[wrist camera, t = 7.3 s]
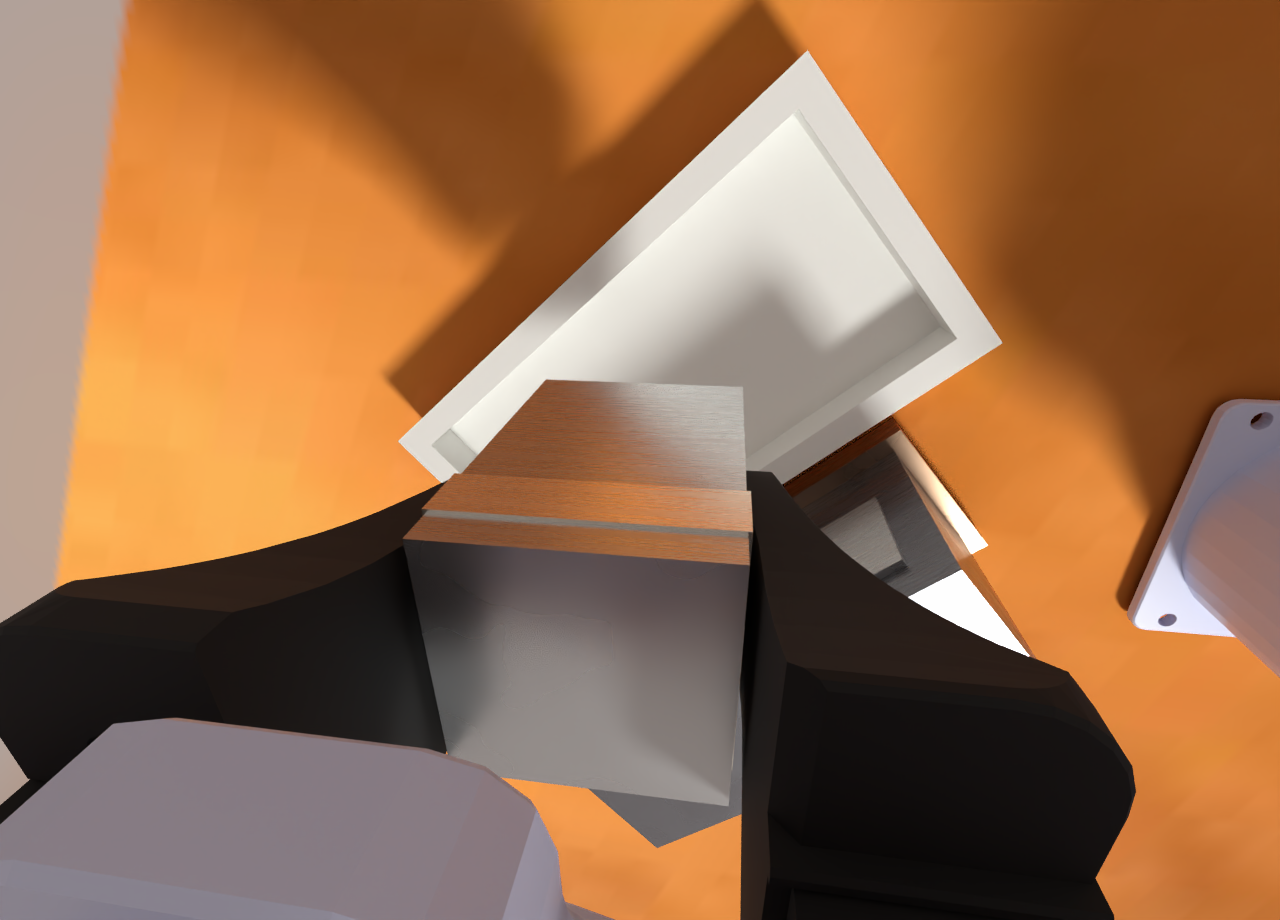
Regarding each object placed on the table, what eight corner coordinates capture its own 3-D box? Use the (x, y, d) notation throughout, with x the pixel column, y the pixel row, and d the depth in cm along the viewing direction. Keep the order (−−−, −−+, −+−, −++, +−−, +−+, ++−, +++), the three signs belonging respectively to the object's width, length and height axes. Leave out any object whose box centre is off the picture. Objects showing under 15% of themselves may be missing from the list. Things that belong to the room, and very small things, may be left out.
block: (745, 384, 12) (755, 561, 6) (732, 557, 14) (731, 809, 8) (543, 376, 12) (397, 534, 7) (556, 544, 14) (448, 772, 9)
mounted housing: (892, 417, 19) (971, 542, 12) (976, 528, 20) (1087, 692, 14) (593, 608, 24) (543, 766, 17) (675, 688, 25) (655, 862, 19)
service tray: (799, 62, 15) (807, 50, 13) (977, 326, 17) (1002, 342, 16) (423, 420, 21) (398, 441, 19) (589, 584, 23) (578, 615, 22)
